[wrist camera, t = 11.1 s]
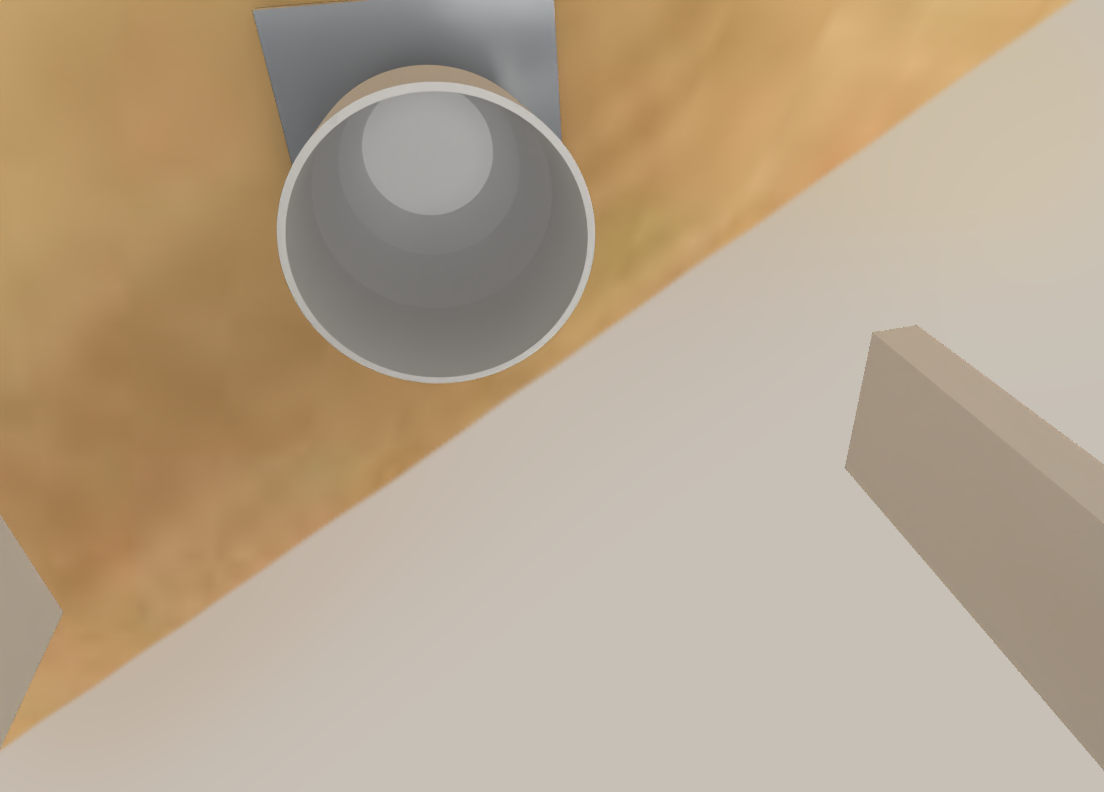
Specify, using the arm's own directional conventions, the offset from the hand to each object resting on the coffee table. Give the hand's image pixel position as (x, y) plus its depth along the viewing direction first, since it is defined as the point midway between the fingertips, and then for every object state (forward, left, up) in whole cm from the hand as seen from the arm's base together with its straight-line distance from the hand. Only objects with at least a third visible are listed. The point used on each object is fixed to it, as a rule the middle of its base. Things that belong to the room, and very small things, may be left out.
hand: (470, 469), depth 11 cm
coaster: (0, 0, -20) cm, 20 cm away
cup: (0, 0, -19) cm, 19 cm away
